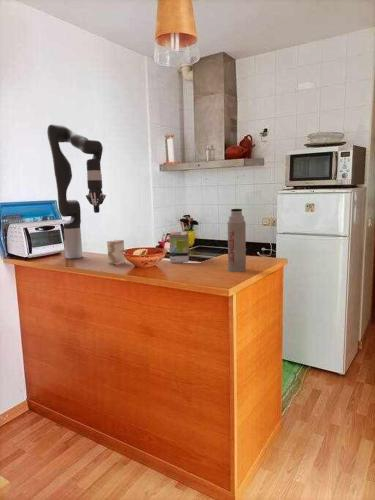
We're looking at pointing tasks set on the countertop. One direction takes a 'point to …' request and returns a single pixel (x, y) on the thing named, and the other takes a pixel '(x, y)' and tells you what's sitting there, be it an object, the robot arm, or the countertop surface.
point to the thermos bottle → (236, 241)
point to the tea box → (179, 247)
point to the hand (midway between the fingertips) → (96, 212)
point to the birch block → (115, 251)
